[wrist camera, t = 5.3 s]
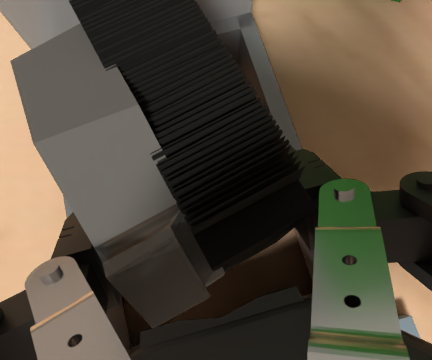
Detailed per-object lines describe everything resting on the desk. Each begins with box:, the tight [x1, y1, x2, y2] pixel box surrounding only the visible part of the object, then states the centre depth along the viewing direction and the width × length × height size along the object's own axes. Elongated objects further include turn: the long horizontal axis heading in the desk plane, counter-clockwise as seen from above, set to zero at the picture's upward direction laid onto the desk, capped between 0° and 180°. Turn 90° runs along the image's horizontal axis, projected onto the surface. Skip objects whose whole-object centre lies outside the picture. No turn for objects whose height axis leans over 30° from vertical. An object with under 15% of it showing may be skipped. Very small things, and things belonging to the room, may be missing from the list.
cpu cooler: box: [11, 0, 318, 328], centre depth 13 cm, size 10×6×10 cm, turn 29°
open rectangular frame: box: [0, 0, 314, 353], centre depth 12 cm, size 11×16×14 cm
